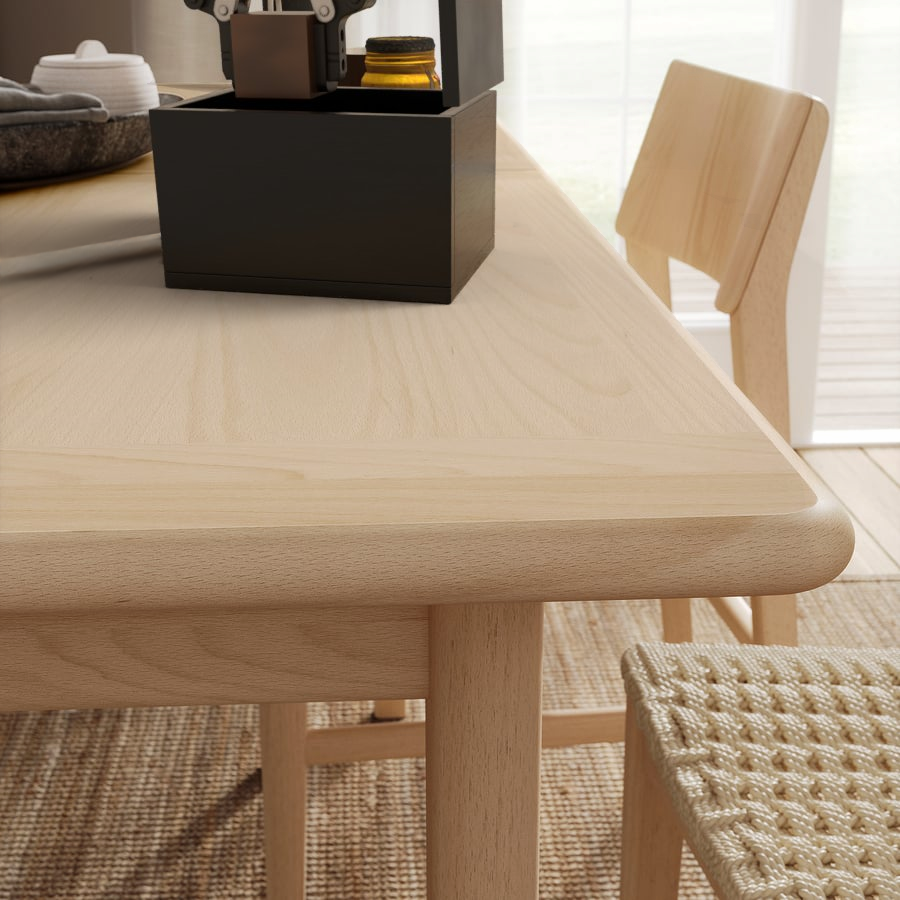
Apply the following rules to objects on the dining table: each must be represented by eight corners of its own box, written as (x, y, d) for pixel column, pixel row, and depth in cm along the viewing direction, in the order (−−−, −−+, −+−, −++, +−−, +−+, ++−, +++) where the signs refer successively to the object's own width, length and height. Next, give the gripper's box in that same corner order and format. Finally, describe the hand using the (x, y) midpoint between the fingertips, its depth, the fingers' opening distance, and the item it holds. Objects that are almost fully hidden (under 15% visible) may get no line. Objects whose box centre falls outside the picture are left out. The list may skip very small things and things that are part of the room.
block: (235, 98, 67) (229, 14, 65) (263, 90, 71) (257, 10, 69) (310, 99, 66) (306, 14, 64) (334, 91, 70) (330, 11, 68)
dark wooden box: (165, 287, 67) (147, 109, 63) (251, 236, 80) (241, 84, 76) (451, 304, 64) (451, 117, 60) (494, 247, 76) (497, 89, 73)
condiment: (352, 206, 89) (347, 39, 84) (366, 186, 97) (362, 32, 92) (448, 208, 89) (448, 40, 84) (454, 187, 96) (455, 33, 92)
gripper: (414, -241, 64) (418, 86, 70) (170, -232, 67) (196, 82, 73) (379, -264, 57) (387, 100, 64) (108, -254, 60) (143, 94, 66)
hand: (285, 88), depth 68 cm, fingers closed on block, 4 cm apart
